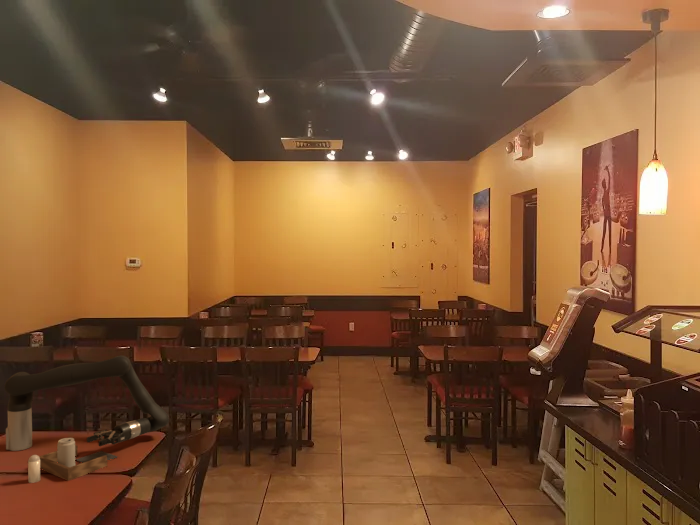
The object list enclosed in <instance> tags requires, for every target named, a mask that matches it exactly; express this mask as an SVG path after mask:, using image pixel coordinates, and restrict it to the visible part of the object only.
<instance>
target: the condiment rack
mask: <svg viewBox="0 0 700 525" xmlns="http://www.w3.org/2000/svg"><path fill="white" fill-rule="evenodd" d="M78 452H79V450H78V445H77V444H75V456H76V457H78V456H77V455H79V454H78ZM38 456H39V457H40V468H41V469H43V470H42V471H44V470H45V471H44V472H46V471H47V472H46V473H49V474H51V475H54V476H56V477H57V478H58V477H59V478H60V479H63V480H66V481H72V480H75V479H77V478H80V477H82V476H86V475H88V473H89V474H91V473H93V472H92V471H94V472H96V471H95V470H97V471H99V470H98V469H100V468H102V469H104V468H103V467H105V466H107V467H108V461H107V456H106V455H105V456H102V457H99V458H96V459H93V460H90V461H87V462H84V463H78V464H75V466H72V467H67V466H65V465H62V464H60V463H57V462H58V456H57V450H55V451H52V452H49V453H46V454H43V455H38ZM105 468H106V467H105ZM41 469H40V470H41ZM100 470H101V469H100ZM90 472H91V473H90Z"/></svg>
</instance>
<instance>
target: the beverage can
mask: <svg viewBox="0 0 700 525" xmlns="http://www.w3.org/2000/svg"><path fill="white" fill-rule="evenodd" d="M75 445H76V441H75V438H73V437H64V438H60V439H59V440H58V442H57V445H56V446H57V447H56V448H57V450H56V451H57V456H58V463H60V464H62V465H65V466H67V467H72V466H75V465H76V461H75V459H76V457H75Z"/></svg>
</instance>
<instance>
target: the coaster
mask: <svg viewBox="0 0 700 525" xmlns="http://www.w3.org/2000/svg"><path fill="white" fill-rule="evenodd" d="M105 455H106V456H107V460H110V459H113V460H115V459H114V458H116V459H118V458H119V456H117V455H115V454H112V453H109V452H106V451H104V450H100V451H96V452H94V453H90V454H88V455H85V456H81V457H78V458H75V460H77V461H76V462H78V461H79V462H78V463H80V462H82V463H84V462H87V461H90V460H93V459H96V458H99V457H102V456H105ZM117 457H118V458H117ZM110 461H111V460H110Z"/></svg>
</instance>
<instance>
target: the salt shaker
mask: <svg viewBox="0 0 700 525" xmlns="http://www.w3.org/2000/svg"><path fill="white" fill-rule="evenodd" d="M39 456H40V455H37V454H32V455H31V456H30V457H29V458H28V461H27V468H28V469H27V470H28V471H27V472H28V473H27V474H28V475H27V476H28V478H27V479H28V480H27V481H28V483H29V484H33V483H38V482H40V481H41V469H40V457H39Z"/></svg>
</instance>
